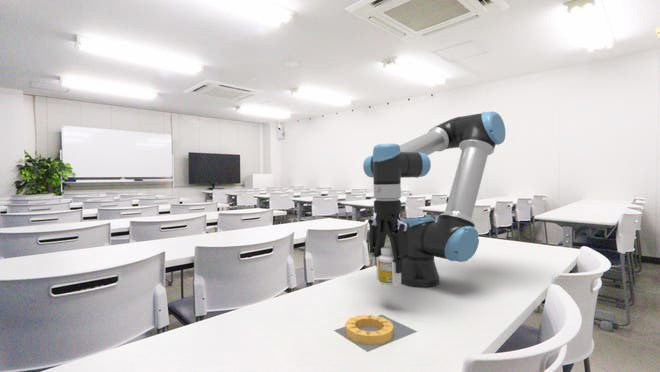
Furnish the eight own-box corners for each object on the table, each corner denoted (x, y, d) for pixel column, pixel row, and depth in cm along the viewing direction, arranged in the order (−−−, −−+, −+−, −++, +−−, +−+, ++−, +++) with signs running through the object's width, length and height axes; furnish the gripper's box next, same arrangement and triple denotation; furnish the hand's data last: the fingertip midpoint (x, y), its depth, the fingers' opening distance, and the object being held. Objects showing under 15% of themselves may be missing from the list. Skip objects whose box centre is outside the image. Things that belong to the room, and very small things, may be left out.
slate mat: (333, 332, 78) (333, 330, 78) (381, 316, 88) (381, 314, 88) (367, 354, 69) (367, 351, 69) (417, 333, 78) (417, 331, 78)
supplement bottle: (385, 278, 96) (384, 245, 95) (401, 281, 92) (401, 247, 92) (375, 283, 91) (374, 249, 91) (392, 287, 88) (391, 251, 88)
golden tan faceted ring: (336, 330, 78) (336, 322, 78) (370, 319, 85) (370, 311, 85) (367, 350, 69) (367, 340, 69) (402, 335, 76) (402, 327, 76)
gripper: (355, 198, 96) (357, 276, 97) (403, 202, 81) (404, 293, 82) (374, 197, 101) (375, 271, 102) (422, 200, 86) (423, 287, 87)
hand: (388, 281), depth 92 cm, fingers closed on supplement bottle, 5 cm apart
